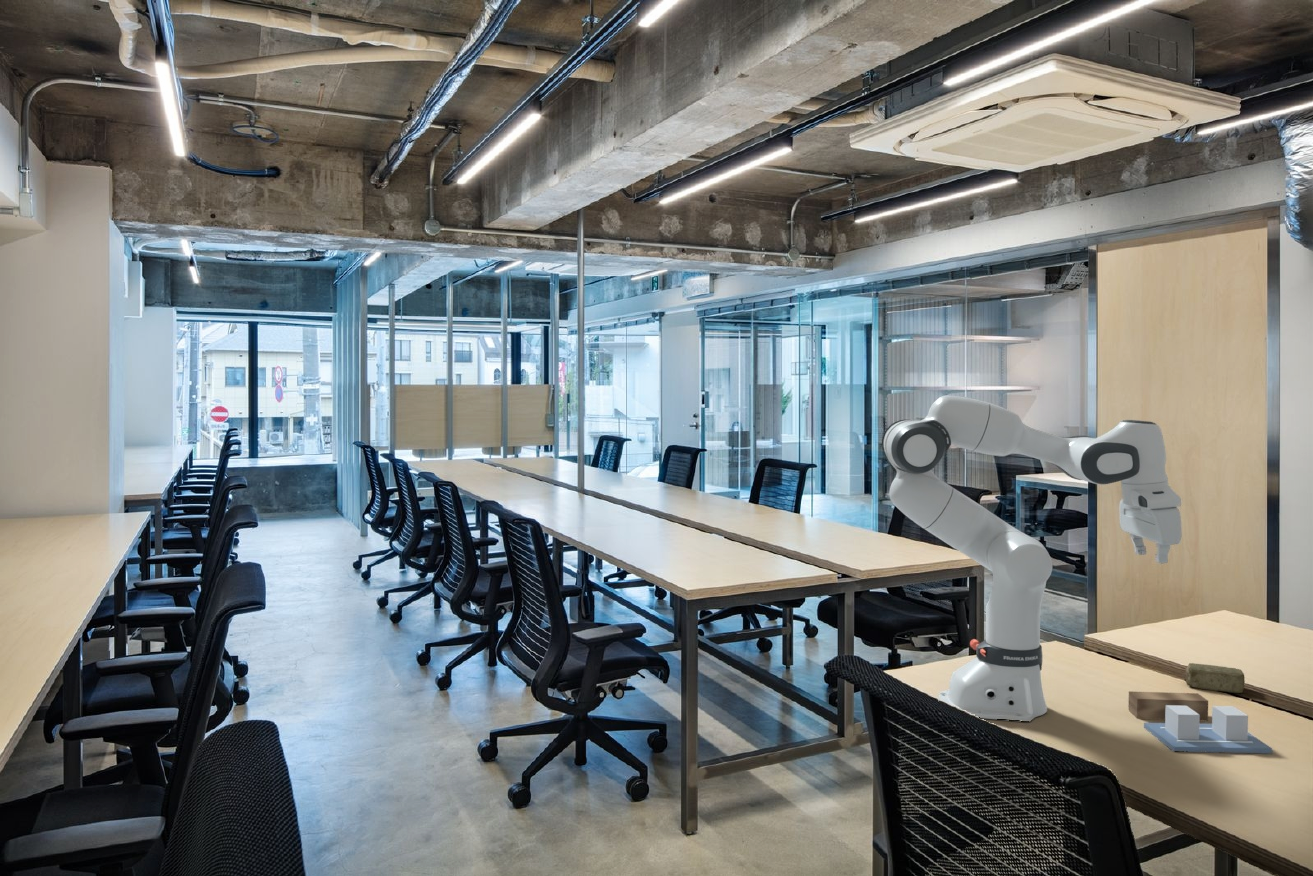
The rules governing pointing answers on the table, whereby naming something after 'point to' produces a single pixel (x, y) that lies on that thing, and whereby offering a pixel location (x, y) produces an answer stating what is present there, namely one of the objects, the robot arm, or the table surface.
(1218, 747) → the bridge base
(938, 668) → the table surface
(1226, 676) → the stone block
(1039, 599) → the robot arm
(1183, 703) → the walnut beam
